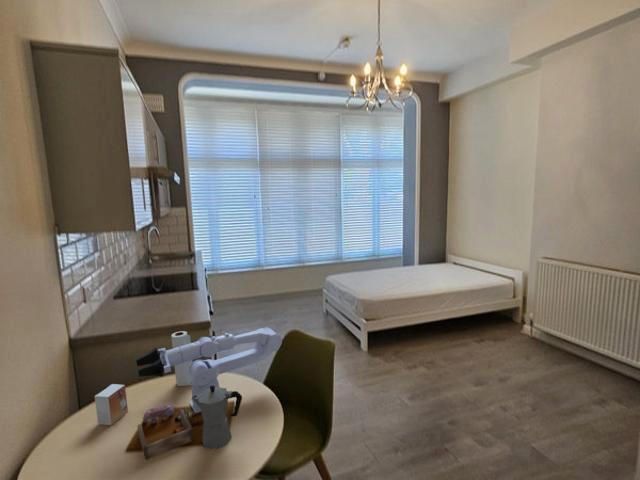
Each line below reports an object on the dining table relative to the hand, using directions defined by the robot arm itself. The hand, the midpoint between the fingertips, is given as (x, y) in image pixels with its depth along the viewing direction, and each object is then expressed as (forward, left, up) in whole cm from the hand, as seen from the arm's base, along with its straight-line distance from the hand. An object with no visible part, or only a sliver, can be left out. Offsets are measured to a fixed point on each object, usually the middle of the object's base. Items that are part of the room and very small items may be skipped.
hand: (137, 368), depth 116 cm
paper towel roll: (-18, -19, -21) cm, 33 cm away
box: (-5, +12, -20) cm, 24 cm away
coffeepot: (-19, +23, -21) cm, 36 cm away
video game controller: (-5, +1, -21) cm, 21 cm away
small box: (+8, -11, -21) cm, 25 cm away
